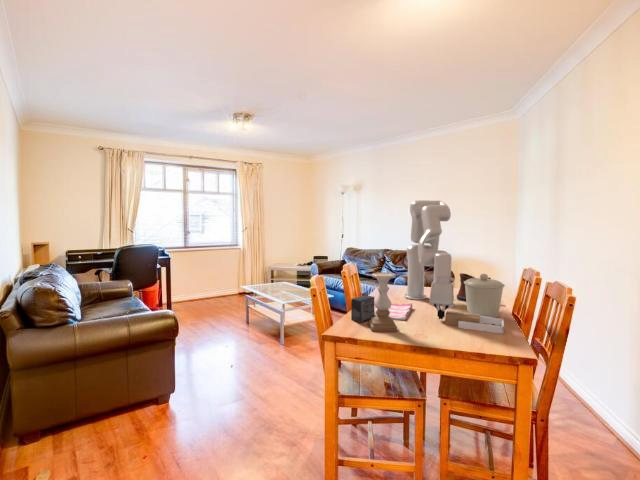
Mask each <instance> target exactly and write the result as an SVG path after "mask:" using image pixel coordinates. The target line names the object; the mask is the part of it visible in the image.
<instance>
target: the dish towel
mask: <svg viewBox="0 0 640 480" xmlns="http://www.w3.org/2000/svg"><path fill="white" fill-rule="evenodd" d="M376 310H377V308H376V307H375V308H374V315H375V316H377V314H376ZM388 310H389V311H390V314H389V315H388V316H389V317H391V318H392V319H393V320H394V321H406V319H407V318H408V316H409V314H410V313H411V312H412V311H413V303H412V302H411V303H401V304H398V303H392V302H391V307H390V308H389V309H388Z"/></svg>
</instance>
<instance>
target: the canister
mask: <svg viewBox="0 0 640 480" xmlns="http://www.w3.org/2000/svg"><path fill="white" fill-rule="evenodd" d="M488 278H489V275H488V274H486V273H481V274H480V275H479V277H475V278H471V279H468V280H466V281H464V284H465V291H466V301H465V302H466V303H465V304H466V310H467V313H470V314H479V315H480V316H484V317H492V318H498V316H499V312H500V308H501V302H502V295H503V291H504V288H505V286H506V285H505V283H503V282H502V281H499V280H496V279H492V278H491V279H488Z"/></svg>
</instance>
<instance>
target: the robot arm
mask: <svg viewBox="0 0 640 480" xmlns="http://www.w3.org/2000/svg"><path fill="white" fill-rule="evenodd" d="M409 211H410V212H409V214H410V216H411V228H410V229H411V230H410V240H411V242H412V243H414V244H411V245H410V244H409V246H408V247H407V248H406V257H407V258H406V259H407V288H406V289H407V291H406V292H407V293H406V294H404V297H405V298H406V299H409V300H412V301H413V300H414V301H415V300H416V301H419V300H420V301H423V300H426V299H427V298H428V297H427V295H426V294H425V267H433V281H431V286H430V291H429V292H430V294H429V302H428V303H429V305H430V306H433V307H434V308H435V309H436V310H437V314H436V315H437V317H438V320H443V319H444V318H445V314H446V310H447V309H450V308H454V284H453V282H454V281H455V278H454V277H452V254H450V253H448V251H446V250H439V245H440V236H441V235H442V232H443V229H442V226H441V222H448V221H450V219H451V217H452V215H451V213H452V212H451V209H450V206H448V205H447V204H446V202H444V201H442V200H427V199H426V200H413V201H412V202H411V203H410V205H409ZM441 305H442V308H441Z"/></svg>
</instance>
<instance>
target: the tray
mask: <svg viewBox="0 0 640 480" xmlns="http://www.w3.org/2000/svg"><path fill="white" fill-rule="evenodd" d="M504 320H505V319H504V318H498V317H496V318H492V317H484V316H480V323H473V322H465V321H459V323H458V326H457V327H458V329H466V330H471V331H479V332H485V331H486V332H487V333H493V334H500V333H501V335H504V334H505V322H504ZM485 323H486V324H485ZM492 324H495V325H492ZM500 325H501V326H500Z"/></svg>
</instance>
